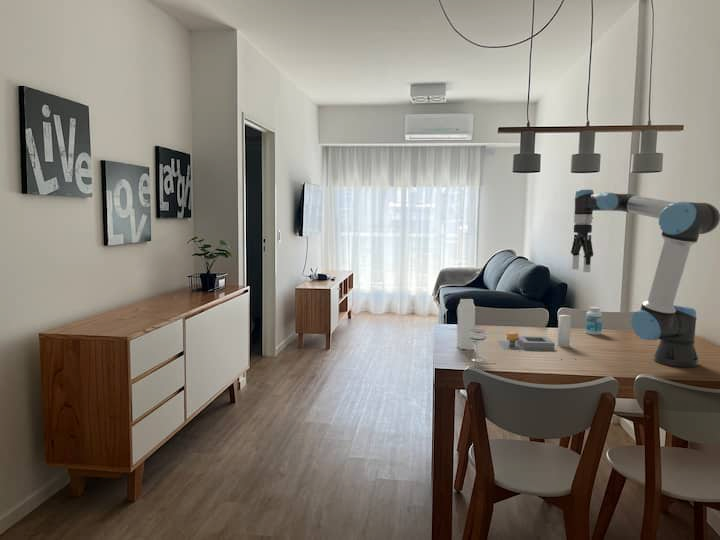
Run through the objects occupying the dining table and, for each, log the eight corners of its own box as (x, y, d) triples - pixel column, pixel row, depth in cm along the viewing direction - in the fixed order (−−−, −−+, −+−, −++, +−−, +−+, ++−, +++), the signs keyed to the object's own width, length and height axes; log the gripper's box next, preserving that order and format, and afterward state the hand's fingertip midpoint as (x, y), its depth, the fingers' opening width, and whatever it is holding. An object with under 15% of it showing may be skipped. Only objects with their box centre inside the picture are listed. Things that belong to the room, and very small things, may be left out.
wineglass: (482, 357, 213) (483, 329, 212) (487, 362, 206) (488, 332, 205) (466, 357, 212) (467, 329, 211) (470, 362, 206) (471, 332, 205)
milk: (456, 346, 232) (457, 298, 230) (470, 346, 232) (471, 297, 231) (460, 349, 226) (461, 300, 224) (474, 349, 226) (475, 299, 224)
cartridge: (571, 348, 228) (572, 316, 227) (559, 347, 229) (560, 316, 227) (567, 345, 233) (568, 314, 232) (556, 345, 234) (557, 314, 232)
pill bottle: (581, 332, 264) (583, 306, 262) (592, 331, 267) (593, 305, 266) (594, 335, 257) (595, 308, 256) (604, 334, 260) (606, 308, 259)
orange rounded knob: (519, 341, 228) (519, 334, 227) (508, 340, 228) (508, 334, 228) (516, 338, 233) (516, 332, 232) (505, 338, 233) (505, 331, 233)
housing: (556, 353, 221) (556, 344, 221) (504, 351, 223) (504, 342, 223) (545, 344, 237) (546, 335, 237) (497, 343, 239) (497, 334, 239)
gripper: (602, 224, 221) (600, 273, 223) (581, 224, 246) (579, 268, 248) (585, 224, 222) (582, 273, 224) (565, 224, 247) (563, 268, 248)
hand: (580, 270), depth 236 cm, fingers open, 13 cm apart
